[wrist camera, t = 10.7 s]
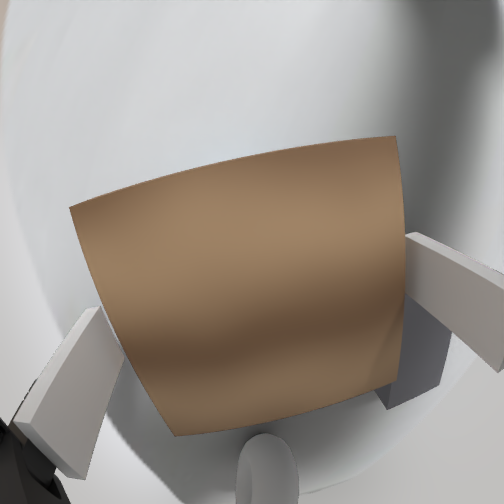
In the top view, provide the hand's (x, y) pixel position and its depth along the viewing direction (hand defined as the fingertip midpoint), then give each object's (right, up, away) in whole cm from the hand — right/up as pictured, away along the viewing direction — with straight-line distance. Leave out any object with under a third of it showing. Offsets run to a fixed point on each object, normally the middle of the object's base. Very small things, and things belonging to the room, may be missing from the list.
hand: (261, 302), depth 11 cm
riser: (+11, -3, +9) cm, 14 cm away
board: (0, 0, +1) cm, 1 cm away
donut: (0, -16, +11) cm, 19 cm away
